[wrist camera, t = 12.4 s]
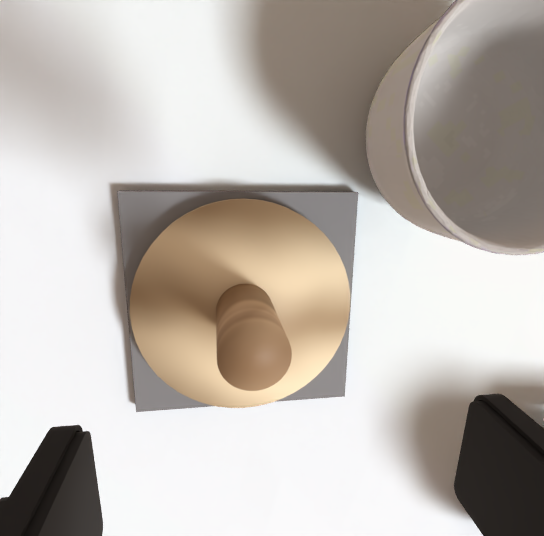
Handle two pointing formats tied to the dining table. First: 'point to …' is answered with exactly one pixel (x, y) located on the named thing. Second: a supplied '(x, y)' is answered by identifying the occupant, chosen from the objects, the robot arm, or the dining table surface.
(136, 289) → the lid
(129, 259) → the plate
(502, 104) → the teacup
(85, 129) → the dining table surface
